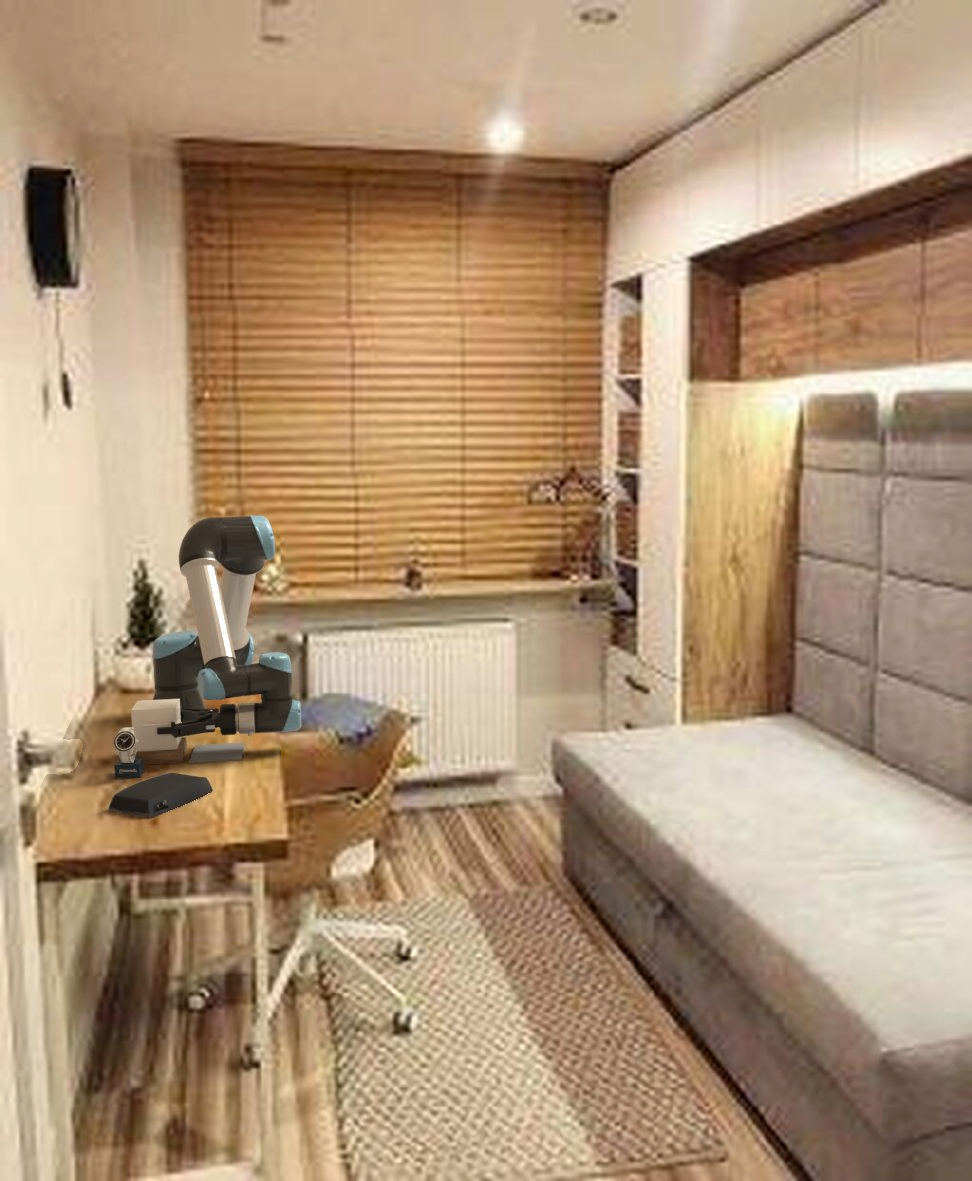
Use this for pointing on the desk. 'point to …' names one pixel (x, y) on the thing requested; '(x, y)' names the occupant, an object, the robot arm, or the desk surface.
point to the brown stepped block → (164, 754)
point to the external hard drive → (159, 794)
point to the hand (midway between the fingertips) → (146, 723)
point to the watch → (127, 755)
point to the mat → (217, 752)
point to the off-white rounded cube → (155, 714)
